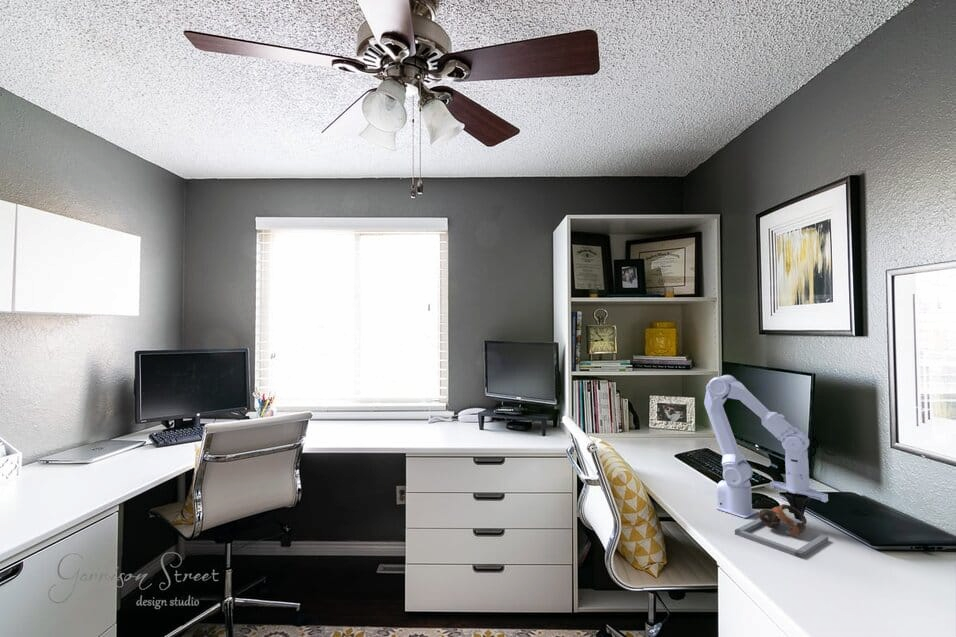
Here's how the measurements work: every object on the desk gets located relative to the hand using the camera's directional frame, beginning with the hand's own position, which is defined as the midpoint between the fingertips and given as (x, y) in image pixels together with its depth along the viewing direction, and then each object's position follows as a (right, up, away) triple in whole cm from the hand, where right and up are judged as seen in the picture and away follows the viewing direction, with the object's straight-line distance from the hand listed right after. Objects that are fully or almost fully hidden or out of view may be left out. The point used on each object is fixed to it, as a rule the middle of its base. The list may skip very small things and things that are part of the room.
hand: (799, 518), depth 135 cm
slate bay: (-9, -3, -6) cm, 11 cm away
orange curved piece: (-7, -3, -2) cm, 7 cm away
